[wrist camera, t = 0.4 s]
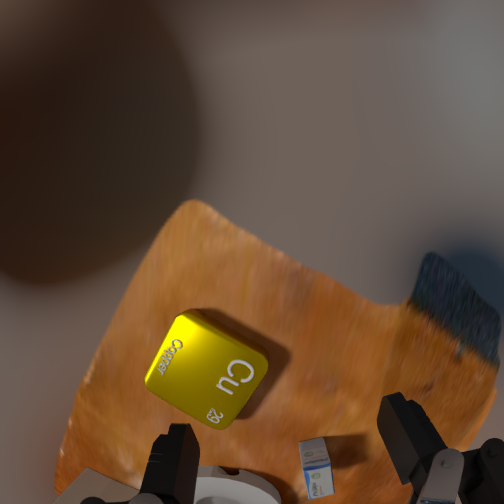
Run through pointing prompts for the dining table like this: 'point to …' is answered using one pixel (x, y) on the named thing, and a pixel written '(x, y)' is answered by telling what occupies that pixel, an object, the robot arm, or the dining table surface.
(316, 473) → the medicine box
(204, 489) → the ashtray
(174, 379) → the element tile
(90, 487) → the display stand
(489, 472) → the robot arm
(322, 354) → the dining table surface
